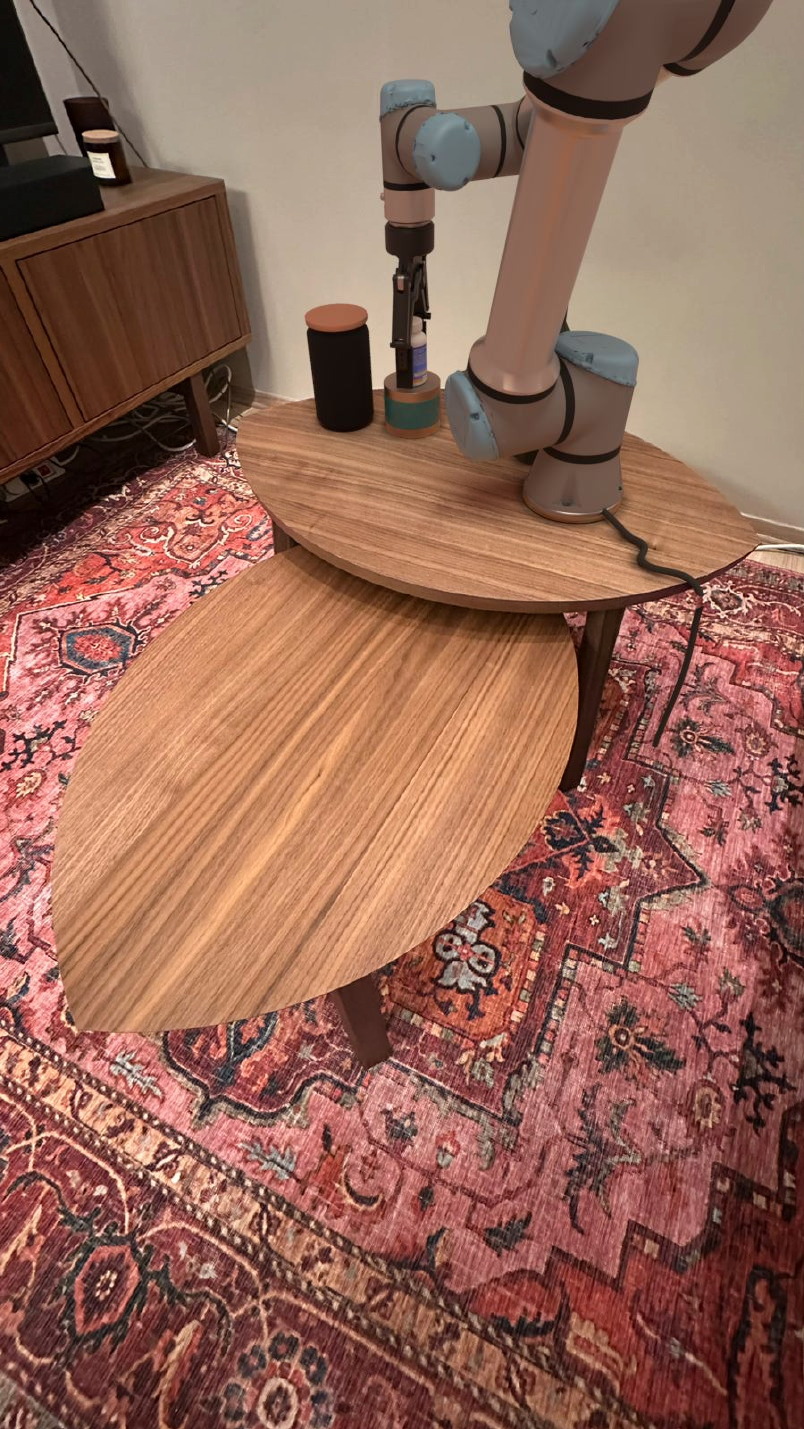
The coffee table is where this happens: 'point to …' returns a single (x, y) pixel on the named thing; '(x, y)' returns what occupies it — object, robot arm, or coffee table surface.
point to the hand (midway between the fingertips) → (412, 374)
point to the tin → (412, 407)
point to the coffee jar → (340, 366)
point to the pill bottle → (418, 352)
